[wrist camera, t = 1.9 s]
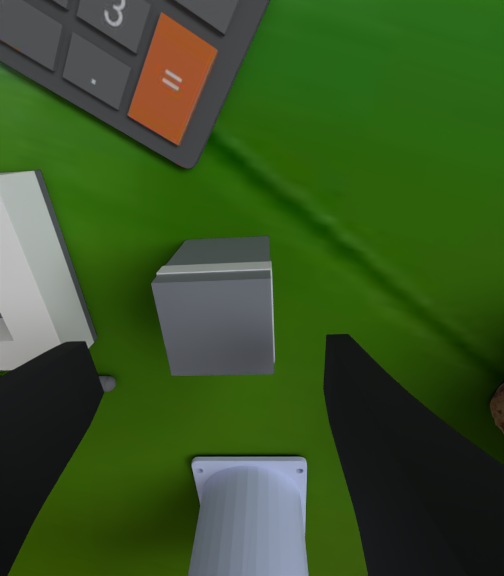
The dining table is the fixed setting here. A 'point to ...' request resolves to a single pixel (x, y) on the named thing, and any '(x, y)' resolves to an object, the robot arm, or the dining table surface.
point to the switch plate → (35, 275)
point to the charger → (217, 307)
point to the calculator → (136, 61)
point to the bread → (498, 407)
